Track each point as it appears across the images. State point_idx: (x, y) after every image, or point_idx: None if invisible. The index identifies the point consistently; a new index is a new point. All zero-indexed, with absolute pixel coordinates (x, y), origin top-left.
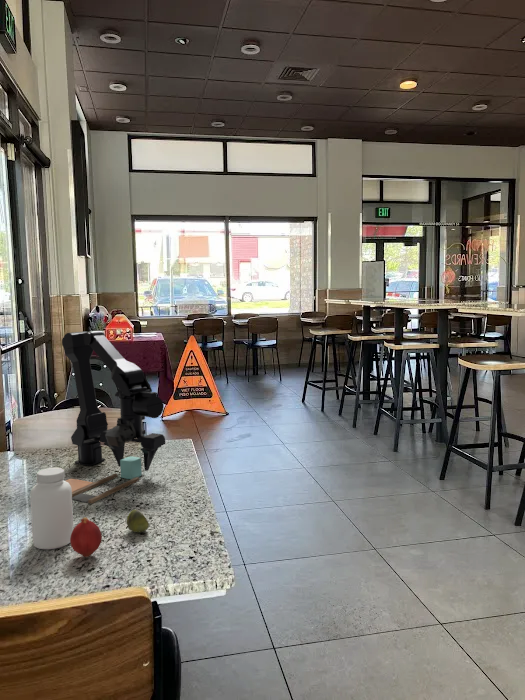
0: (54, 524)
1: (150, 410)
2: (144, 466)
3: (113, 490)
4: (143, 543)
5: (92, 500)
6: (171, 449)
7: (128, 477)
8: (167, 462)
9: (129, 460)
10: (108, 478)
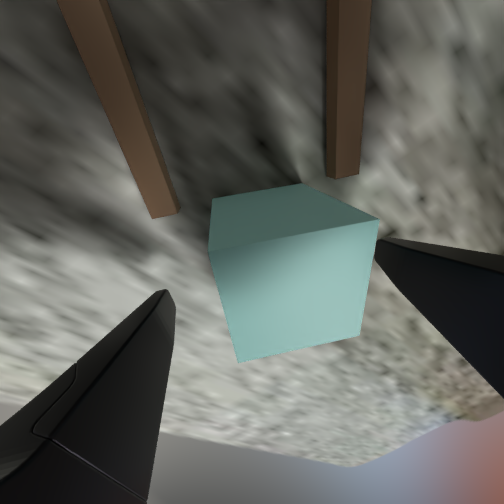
0: None
1: None
2: (153, 306)
3: None
4: None
5: None
6: (344, 435)
7: (241, 196)
8: (268, 396)
9: (269, 269)
10: (336, 65)
